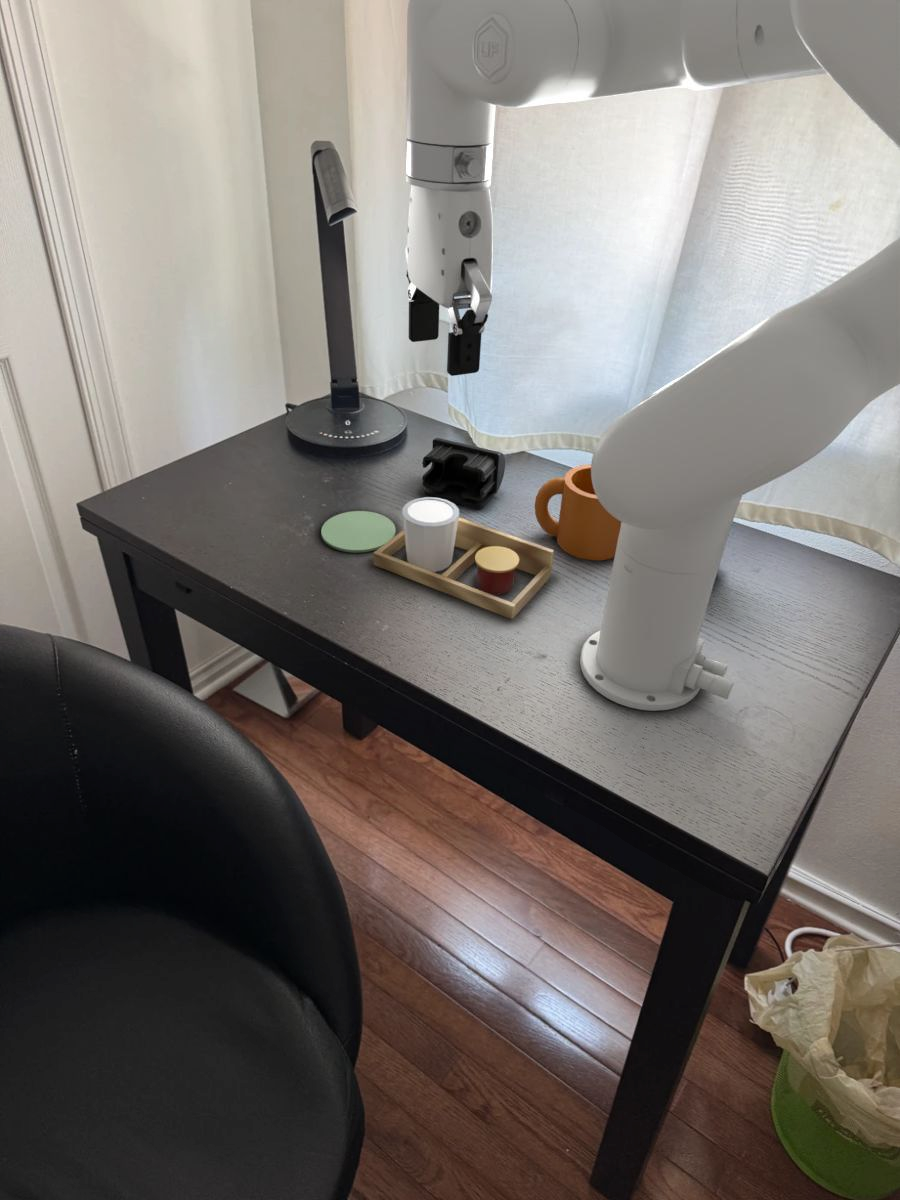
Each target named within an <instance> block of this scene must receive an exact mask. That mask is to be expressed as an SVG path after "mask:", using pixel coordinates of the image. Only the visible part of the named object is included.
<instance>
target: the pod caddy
mask: <svg viewBox="0 0 900 1200" xmlns="http://www.w3.org/2000/svg"><path fill="white" fill-rule="evenodd" d="M405 546H406V544H405V534H404V529H402V530H401V531H400V532H398V533H397V534H395V537H393V538H392V539H391V540H390V541H388V542H387V543H386V544H384V545H383V546H382V547H380V548H379V549H377V550H374V551H373V552H372V555H373V557H372V558H373V559H372V560H373V566H375V567H378V568H381V569H382V570H386V571H388V572H390V573H393V574H396V575H398V576H401V577H403V578H405V579H408V580H411V581H413V582H416V583H418V584H421V585H423V586H425V587H429V588H431V589H434V590H436V591H439V592H441V593H444V594H446V595H449V596H452V597H454V598H456V599H459V600H462V601H464V602H467V603H469V604H472V605H474V606H476V607H479V608H482V609H484V610H487V611H490V612H492V613H494V614H497V615H500V616H502V617H505V618H507V619H510V620H513V619H514V618H515V617H516V616H517V615H518V614H519V613H520V612H521V611H522V610H523V608H524V607H525V606H526V605H527V604H528V603H530V601H531V599H533V598H534V596H535V595H536V594H537V593H538V592H539V591H540V590H541V589H542V588H543V586H544V585H545V584H546V583H547V582H549V580H550V579H551V576H552V571H553V570H552V569H553V563H554V555H555V549H553V548H549V547H546V546H543V545H540V544H538V543H535V542H532V541H529V540H526V539H523V538H521V537H518V536H515V535H511V534H509V533H506V532H504V531H500V530H497V529H494V528H492V527H488V526H485V525H482V524H480V523H477V522H474V521H471V520H468V519H466V518H462V517H460V516H459V519H458V525H457V532H456V538H455V545H454V547H456V548H459V549H462V550H465V551H466V552H465V553H464V554H463V555H462V556H461V557H460V558H458V559H457V560H456V561H455V562H454V563H453V564H451V565H450V566H449V567H448V568H447V569H446V570H445V571H444V572H443V573H442V574H438V573H436V572H431V571H428V570H426V569H423V568H421V567H418V566H415V565H413V564H410V563H408V561H405V560H402V559H400V558H397V557H394V556H393V555H394V554H396V553H397V552H399V550H400V549H402V548H404V547H405ZM490 546H500V547H505V548H508V549H511V550H512V551H514V552H515V553H516V554H517V555H518V557H519V564H518V566H517V567H516V568H515V569H517V570H520V571H523V572H526V573H528V574H531V575H534V577H533V578H532V579H531V580H530V581H529V582H528V584H527V585H526V586H524V588H523V589H521V591H520V592H519V593H518V594H517V595H516V596H515V597H514V598H513V599H512V601H509V600H506V599H504V598H502V597H498V596H497V595H494V594H489V593H486V592H484V591H482V590H481V589H479V588H475V587H473V586H469V585H467V584H464V583H462V582H460V581H457V579H458V578H460V577H461V576H462V575H463V574H464V573H465V572H466V571H467V570H468V569H469V568H470V567H471V566H472V565H473V564H475V563H476V562H475V555H476V553H477V552H478V551H479V550H481V549H483V548H485V547H490Z"/></svg>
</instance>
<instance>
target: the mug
mask: <svg viewBox="0 0 900 1200" xmlns="http://www.w3.org/2000/svg"><path fill="white" fill-rule="evenodd" d="M556 495H561V501H560V509H559V516H558V521H557V520H556V519H554V518H553V517H552V516H551V514H550V511H549V503H550V501H551V499H552V498H553V497H554V496H556ZM534 514H535V517H536V520H537V522H538V525H539V526H540V528H541V529H542V530H543V531H544V532H545V533H546V534H548V535H550V536H551V537H553V538H556V542H557V544H558V546H559V547H560V548H561V550H563V551H564V552H566V553H567V554H568V555H571V556H573V557H575V558H578V559H582V560H586V561H606V560H611V559H614V558H615V552H616V547H617V542H618V537H619V533H620V528H621V523H622V522H621V521H619V520H618V519H616V518H615V517H613V516H612V515H611V514H610V513H608V512H607V511H606V509H605V508H604V507H603V506H602V505H601V503H600V502H599V500H598V498H597V496H596V494H595V491H594V488H593V484H592V478H591V463H589V464H583V465H578V466H576V467H573V468H570V470H568V471H567V472H565V476H564V477H555V478H552V479H548V481H546V482H545V483H543V485H542V486H541V487H540V488H539V490H538V492H537V494H536V496H535V500H534Z"/></svg>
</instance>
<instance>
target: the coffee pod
mask: <svg viewBox="0 0 900 1200" xmlns="http://www.w3.org/2000/svg"><path fill="white" fill-rule="evenodd" d="M474 563H475V564H476V566H477V570H476V586H477V587H478V589H479V590H480V591H483V592H486V593H488V594H491V595H503V594H507V593H509V592H510V591H511V590H512V589H513V587H514V583H515V573H516V569H517V568H516V567H517V566H518V564H519V557H518V555H517V554H516V553H515V552H514V551H512V550H511V549H508V548H505V547H500V546H490V547H485V548H483V549H481V550H479V551H478V552H477V553H476V555H475V562H474Z"/></svg>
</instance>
